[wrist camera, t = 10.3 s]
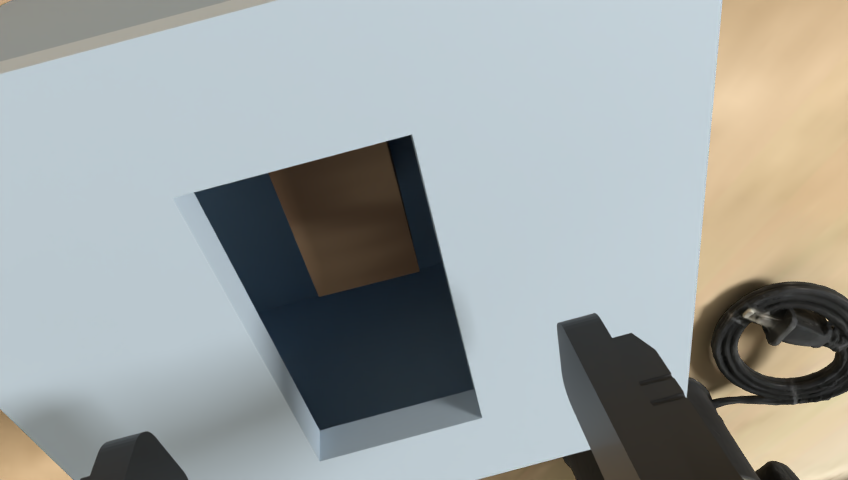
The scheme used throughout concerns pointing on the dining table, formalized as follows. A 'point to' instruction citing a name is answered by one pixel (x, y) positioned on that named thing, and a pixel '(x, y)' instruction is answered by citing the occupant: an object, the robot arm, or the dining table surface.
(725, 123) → the dining table surface
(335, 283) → the wooden rectangular block
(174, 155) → the box
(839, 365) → the milk frother
